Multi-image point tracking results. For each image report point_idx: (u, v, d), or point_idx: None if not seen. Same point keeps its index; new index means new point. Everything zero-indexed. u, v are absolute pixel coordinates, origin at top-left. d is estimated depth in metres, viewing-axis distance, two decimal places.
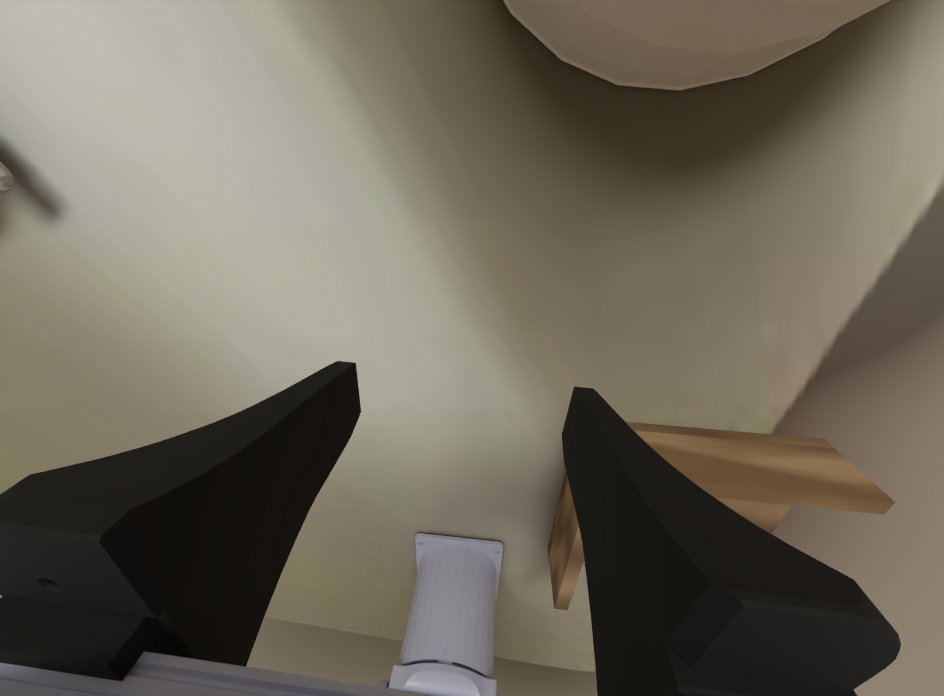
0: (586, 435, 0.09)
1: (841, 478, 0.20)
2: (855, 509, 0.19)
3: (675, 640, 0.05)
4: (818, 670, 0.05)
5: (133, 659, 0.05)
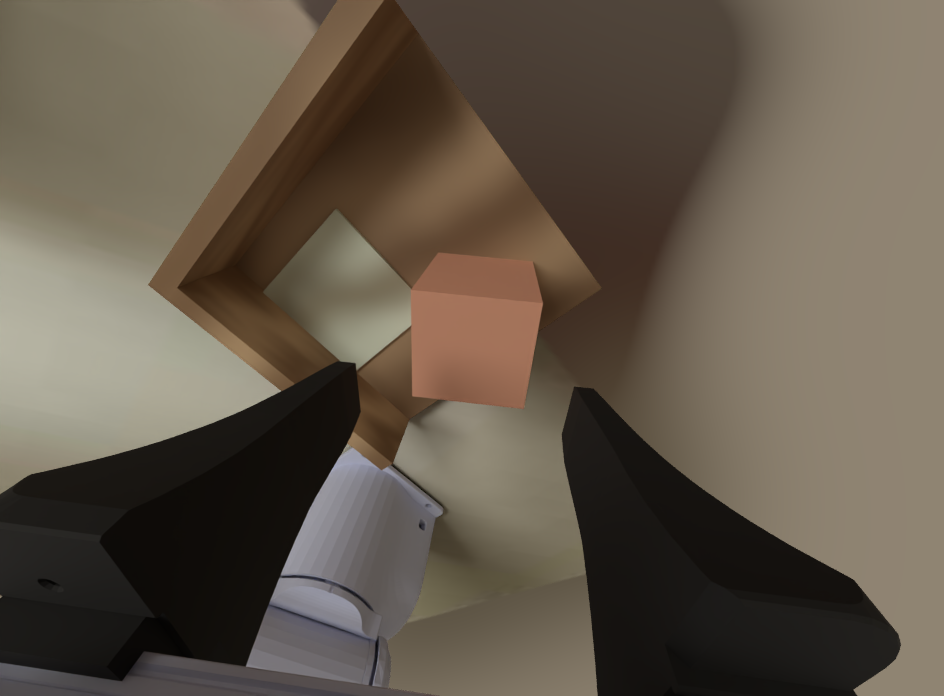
0: (586, 435, 0.09)
1: None
2: (353, 32, 0.11)
3: (675, 640, 0.05)
4: (818, 670, 0.05)
5: (133, 659, 0.05)
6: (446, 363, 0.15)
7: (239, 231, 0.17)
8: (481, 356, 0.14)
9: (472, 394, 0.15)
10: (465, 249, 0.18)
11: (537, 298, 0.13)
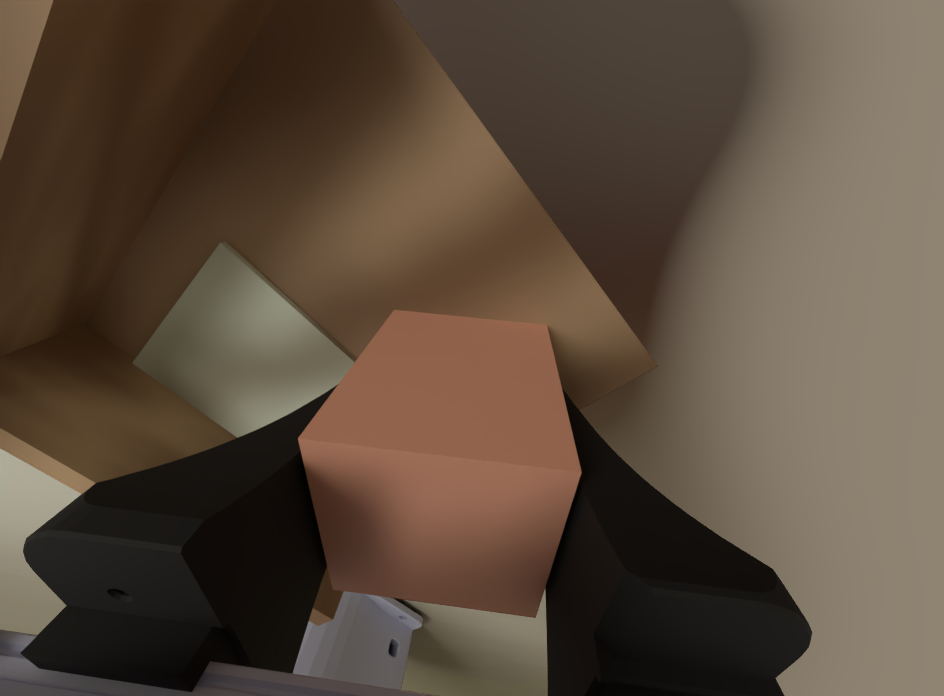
0: None
1: None
2: None
3: (601, 630, 0.05)
4: (737, 659, 0.05)
5: (202, 669, 0.05)
6: (386, 551, 0.08)
7: (43, 285, 0.10)
8: (454, 546, 0.07)
9: (440, 594, 0.08)
10: (437, 305, 0.11)
11: (567, 451, 0.06)
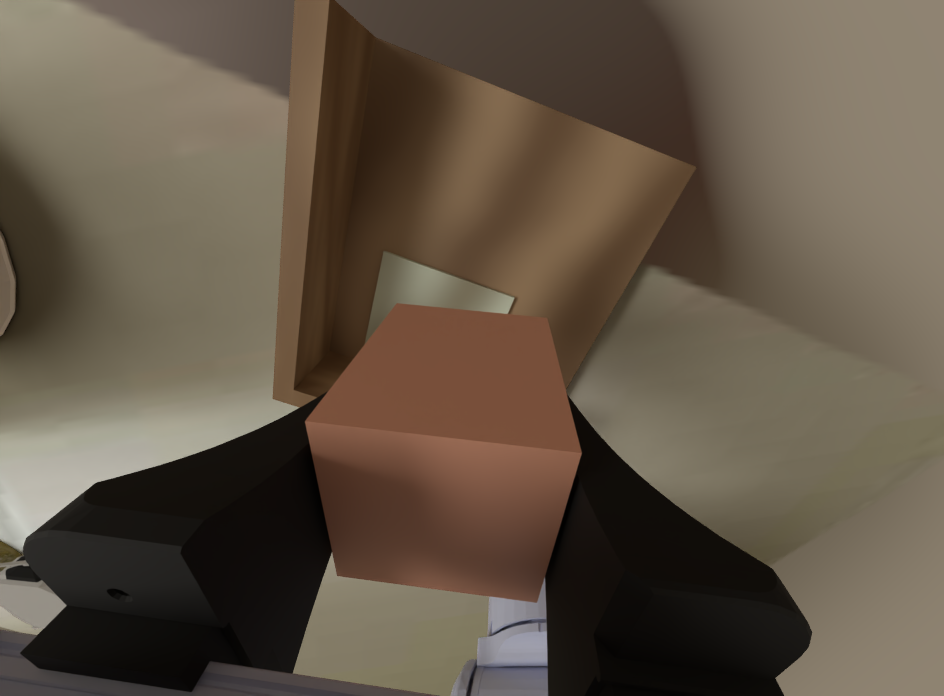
0: None
1: None
2: (318, 59, 0.11)
3: (601, 629, 0.05)
4: (737, 658, 0.05)
5: (201, 669, 0.05)
6: (391, 535, 0.08)
7: (318, 315, 0.17)
8: (457, 530, 0.07)
9: (443, 579, 0.08)
10: (519, 217, 0.16)
11: (567, 433, 0.07)
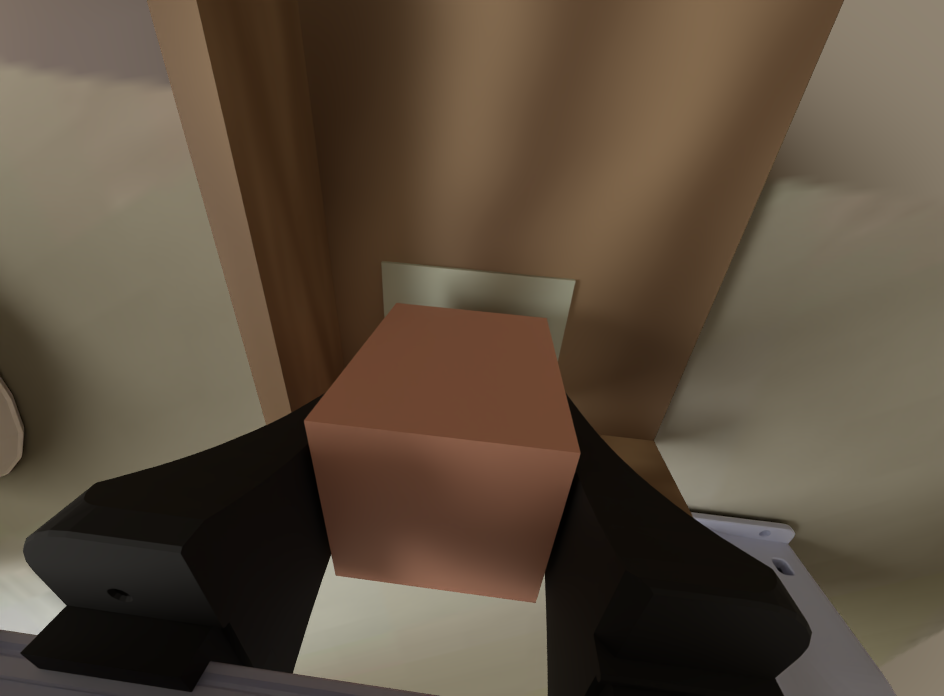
0: None
1: None
2: None
3: (601, 630, 0.05)
4: (737, 659, 0.05)
5: (201, 669, 0.05)
6: (389, 535, 0.08)
7: (315, 368, 0.13)
8: (456, 530, 0.07)
9: (442, 579, 0.08)
10: (560, 158, 0.11)
11: (566, 433, 0.07)
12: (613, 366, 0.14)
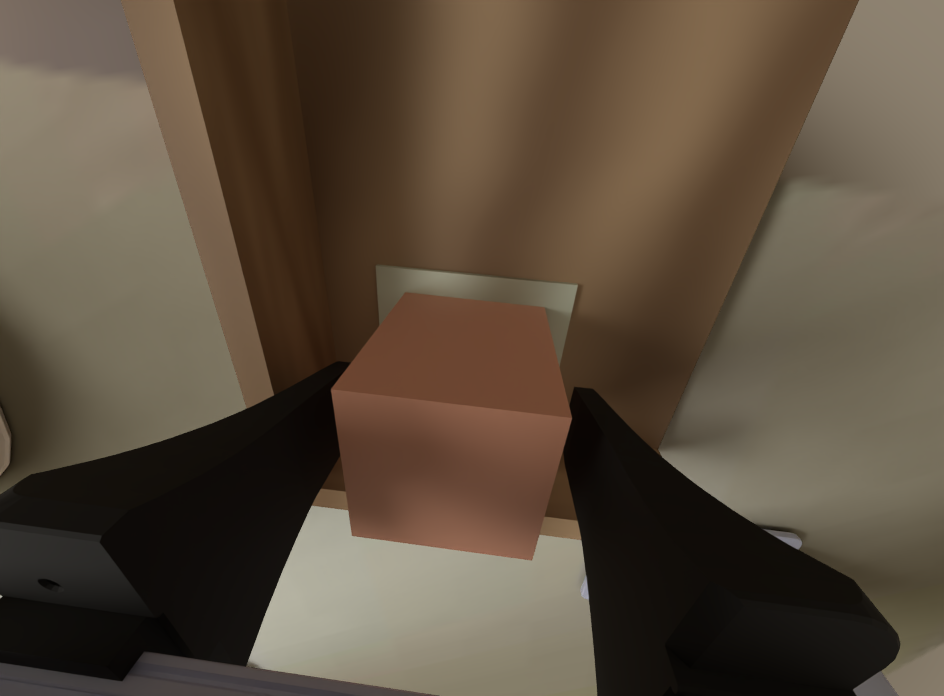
0: (586, 435, 0.09)
1: None
2: None
3: (674, 640, 0.05)
4: (817, 670, 0.05)
5: (134, 659, 0.05)
6: (402, 496, 0.09)
7: (307, 376, 0.12)
8: (462, 490, 0.08)
9: (448, 538, 0.09)
10: (562, 157, 0.10)
11: (560, 403, 0.07)
12: (616, 373, 0.14)
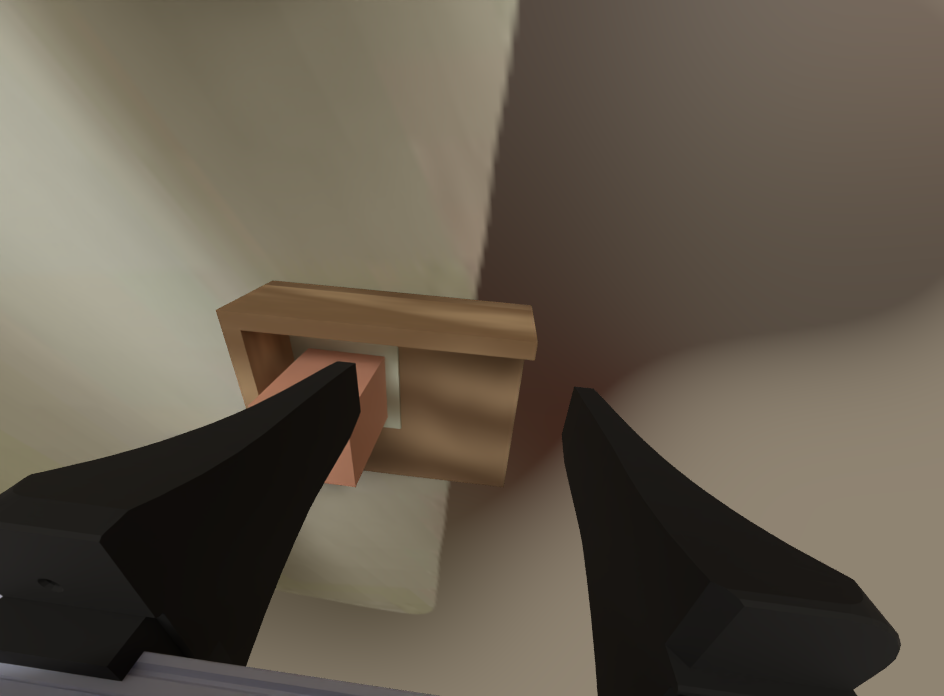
0: (587, 435, 0.09)
1: (503, 326, 0.18)
2: (503, 354, 0.17)
3: (675, 640, 0.05)
4: (818, 670, 0.05)
5: (133, 659, 0.05)
6: None
7: None
8: None
9: None
10: (452, 419, 0.25)
11: (358, 478, 0.20)
12: None
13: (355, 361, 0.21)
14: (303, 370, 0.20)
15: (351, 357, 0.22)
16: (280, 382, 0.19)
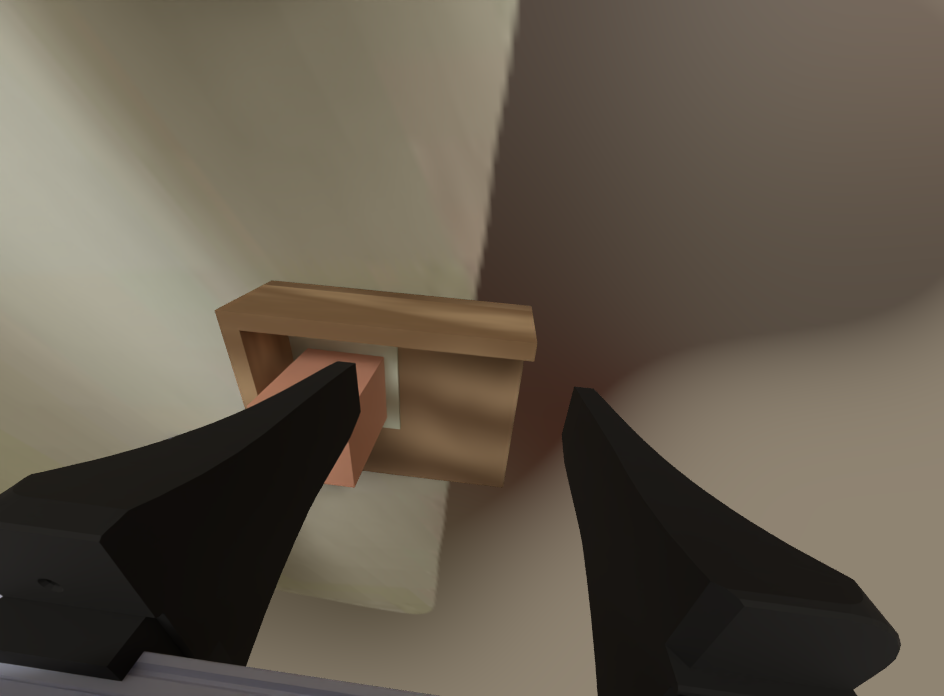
0: (586, 435, 0.09)
1: (503, 327, 0.18)
2: (502, 355, 0.17)
3: (675, 640, 0.05)
4: (818, 670, 0.05)
5: (133, 659, 0.05)
6: None
7: None
8: None
9: None
10: (452, 420, 0.24)
11: (357, 478, 0.20)
12: None
13: (354, 361, 0.21)
14: (302, 370, 0.20)
15: (350, 357, 0.22)
16: (279, 382, 0.19)
